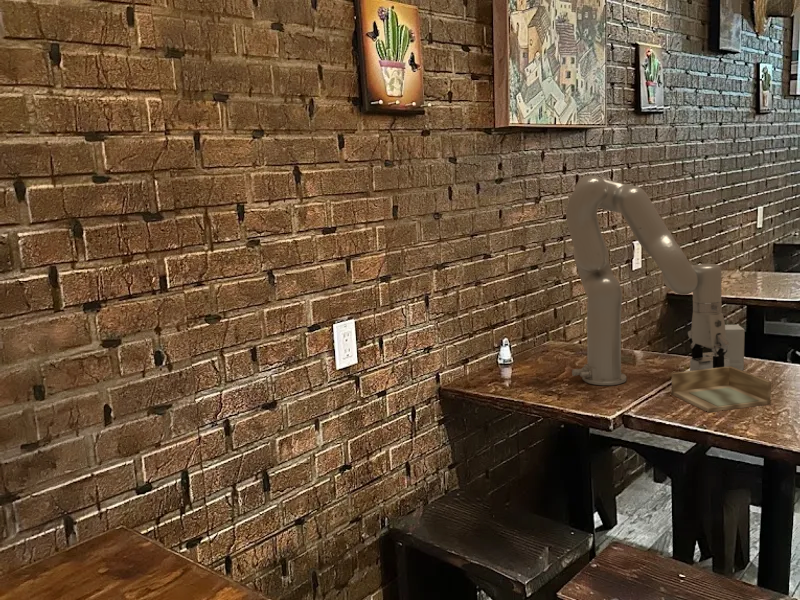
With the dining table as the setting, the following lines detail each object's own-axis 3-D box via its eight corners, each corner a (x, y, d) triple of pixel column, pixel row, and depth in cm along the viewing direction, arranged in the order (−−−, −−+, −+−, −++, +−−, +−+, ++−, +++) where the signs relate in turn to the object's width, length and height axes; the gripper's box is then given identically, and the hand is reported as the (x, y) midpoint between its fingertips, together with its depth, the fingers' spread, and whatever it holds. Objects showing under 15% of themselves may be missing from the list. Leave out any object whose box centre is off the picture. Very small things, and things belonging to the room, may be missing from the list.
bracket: (698, 382, 205) (698, 362, 203) (681, 374, 212) (682, 355, 211) (729, 378, 207) (729, 358, 205) (711, 371, 214) (712, 351, 213)
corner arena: (708, 412, 180) (708, 389, 179) (671, 394, 195) (671, 373, 194) (770, 404, 183) (771, 381, 182) (729, 386, 199) (730, 366, 198)
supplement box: (744, 370, 213) (745, 329, 211) (717, 370, 215) (718, 329, 213) (737, 364, 220) (739, 324, 218) (712, 364, 222) (713, 324, 220)
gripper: (739, 310, 196) (739, 370, 199) (700, 301, 213) (700, 356, 215) (714, 313, 194) (715, 374, 197) (677, 304, 211) (678, 360, 214)
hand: (707, 365), depth 206 cm, fingers open, 9 cm apart
